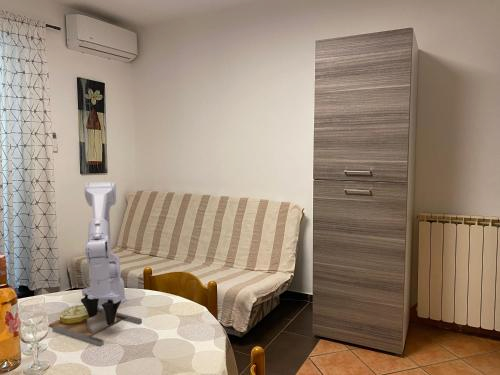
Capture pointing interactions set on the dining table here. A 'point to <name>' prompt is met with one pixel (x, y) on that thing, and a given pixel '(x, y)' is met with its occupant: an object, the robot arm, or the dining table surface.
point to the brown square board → (88, 324)
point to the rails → (89, 338)
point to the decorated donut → (74, 315)
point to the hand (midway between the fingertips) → (102, 321)
